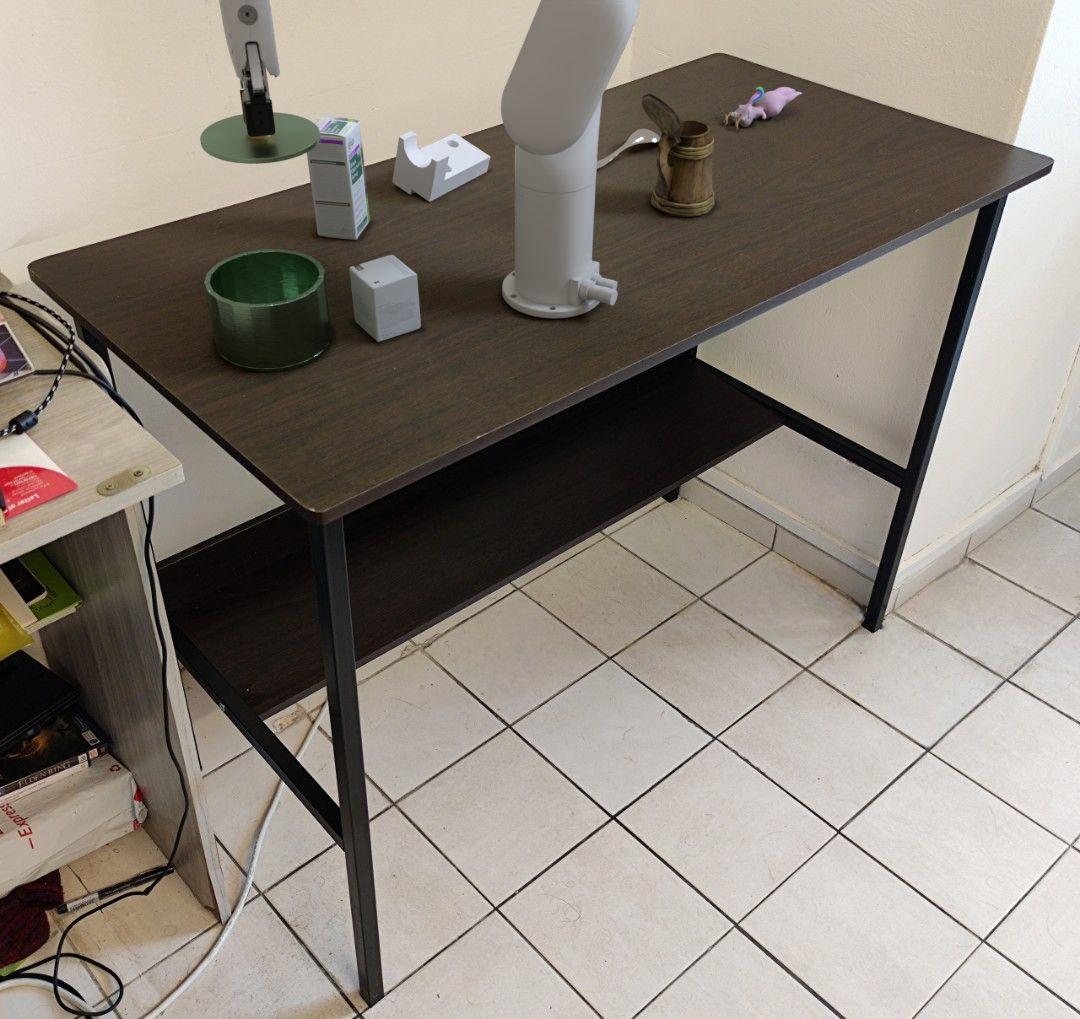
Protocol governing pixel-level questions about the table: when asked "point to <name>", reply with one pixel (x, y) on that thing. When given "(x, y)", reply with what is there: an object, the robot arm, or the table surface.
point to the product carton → (385, 297)
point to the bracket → (436, 165)
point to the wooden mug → (681, 162)
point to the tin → (269, 309)
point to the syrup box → (339, 179)
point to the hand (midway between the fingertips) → (259, 127)
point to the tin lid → (260, 139)
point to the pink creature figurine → (762, 105)
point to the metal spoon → (632, 143)
